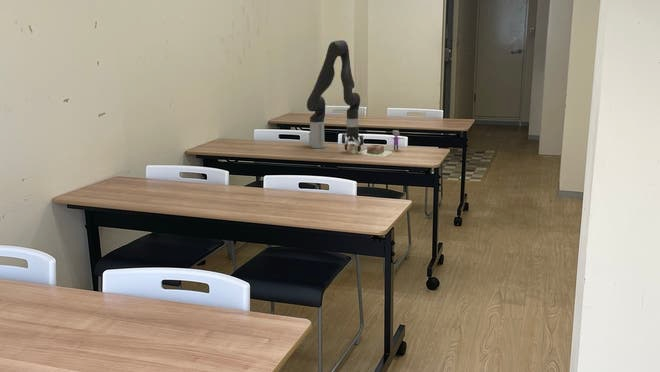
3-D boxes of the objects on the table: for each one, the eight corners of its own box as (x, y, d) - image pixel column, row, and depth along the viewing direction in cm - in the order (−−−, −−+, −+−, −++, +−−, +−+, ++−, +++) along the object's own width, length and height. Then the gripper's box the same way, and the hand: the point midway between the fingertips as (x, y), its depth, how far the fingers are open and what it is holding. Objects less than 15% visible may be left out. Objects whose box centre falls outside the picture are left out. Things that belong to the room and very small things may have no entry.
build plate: (357, 155, 386) (357, 152, 386) (367, 150, 398) (367, 147, 397) (384, 158, 378) (384, 155, 377) (393, 153, 390) (393, 150, 389)
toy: (404, 152, 393) (404, 128, 389) (404, 154, 388) (404, 130, 383) (387, 151, 394) (387, 128, 390) (387, 154, 389) (387, 130, 384)
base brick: (366, 153, 386) (366, 147, 385) (372, 150, 393) (372, 144, 392) (378, 154, 382) (378, 148, 381) (383, 151, 389) (384, 145, 388)
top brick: (347, 155, 388) (347, 144, 386) (350, 153, 392) (350, 143, 390) (354, 155, 386) (354, 145, 384) (357, 154, 390) (357, 143, 388)
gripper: (339, 125, 384) (339, 151, 388) (360, 127, 377) (360, 153, 382) (345, 123, 390) (345, 148, 394) (365, 125, 383) (365, 150, 388)
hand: (352, 150), depth 388 cm, fingers open, 8 cm apart
